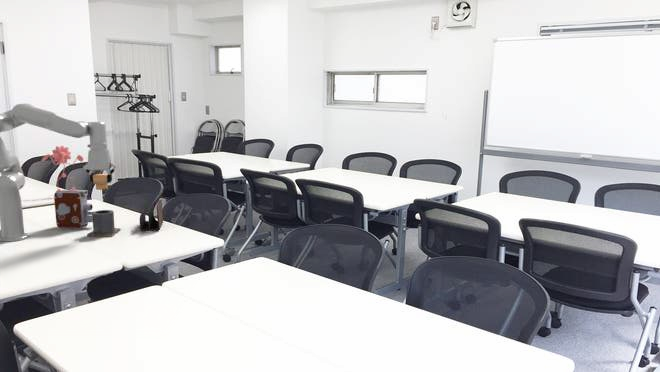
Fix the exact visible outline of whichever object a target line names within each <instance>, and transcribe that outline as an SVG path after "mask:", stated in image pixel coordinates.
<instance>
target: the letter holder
mask: <svg viewBox="0 0 660 372" xmlns="http://www.w3.org/2000/svg"><path fill="white" fill-rule="evenodd" d="M154 208H155V207H154V204H151V205H150V207H149V209H148V212H147V211H146V209H143V210H142V211H141V213H140V215H139V232H140V233H142V232H143V233H144V232H145V233H146V231H151V232H160V231H161V229H160V228H162V225H163V224H164V214H163V204H162V199H159V200H158V201H157V204H156V213H157V214H156V217H157V219H156V218H155V209H154ZM146 212H147V213H148V220H146V219H147V218H146V214H147V213H146ZM162 223H163V224H162ZM159 230H160V231H159Z"/></svg>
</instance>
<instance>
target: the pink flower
mask: <svg viewBox="0 0 660 372" xmlns="http://www.w3.org/2000/svg"><path fill="white" fill-rule="evenodd" d="M50 154H51V153H47V154H46V155H44V156H43V157H42V158H41V163H42V162H43V163H44V161H46V160H48V158H50V159H51V161H52V162H53V163H52V164H53V165H55V166H56V165H57V166H58V165H63V171H62V172H63V173H62V174H61V176H60V177H59V178H58V179H57V180H56V184H57V186H59V180H60V179H61V178H66V177H67V178H70V179H72V180H74V177H70V176H67V173H65V169H66V165H70V166H71V165H72V166H73V165H74V164H75V163H76V161H77V160H78V161H79V162H81V163H82V162H83V161H84V157H83V156H82V155H80V154H78V155H77V156H76V158H75V160H74V161H73V163H68V160H71V159H72V158H71V155H72V152H71V151H69V147H67V146H66V147H64V145H60V146H58V145H56V146H55V149H52V154H51V155H50ZM57 162H58V163H57ZM65 164H66V165H65ZM70 190H77V189H76V187H75V186H72V187H70ZM58 191H61V189H60V188H59V187H57V190H56V191H55V192H58ZM48 197H49V198H50V197H51V195H49V196H48Z"/></svg>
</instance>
